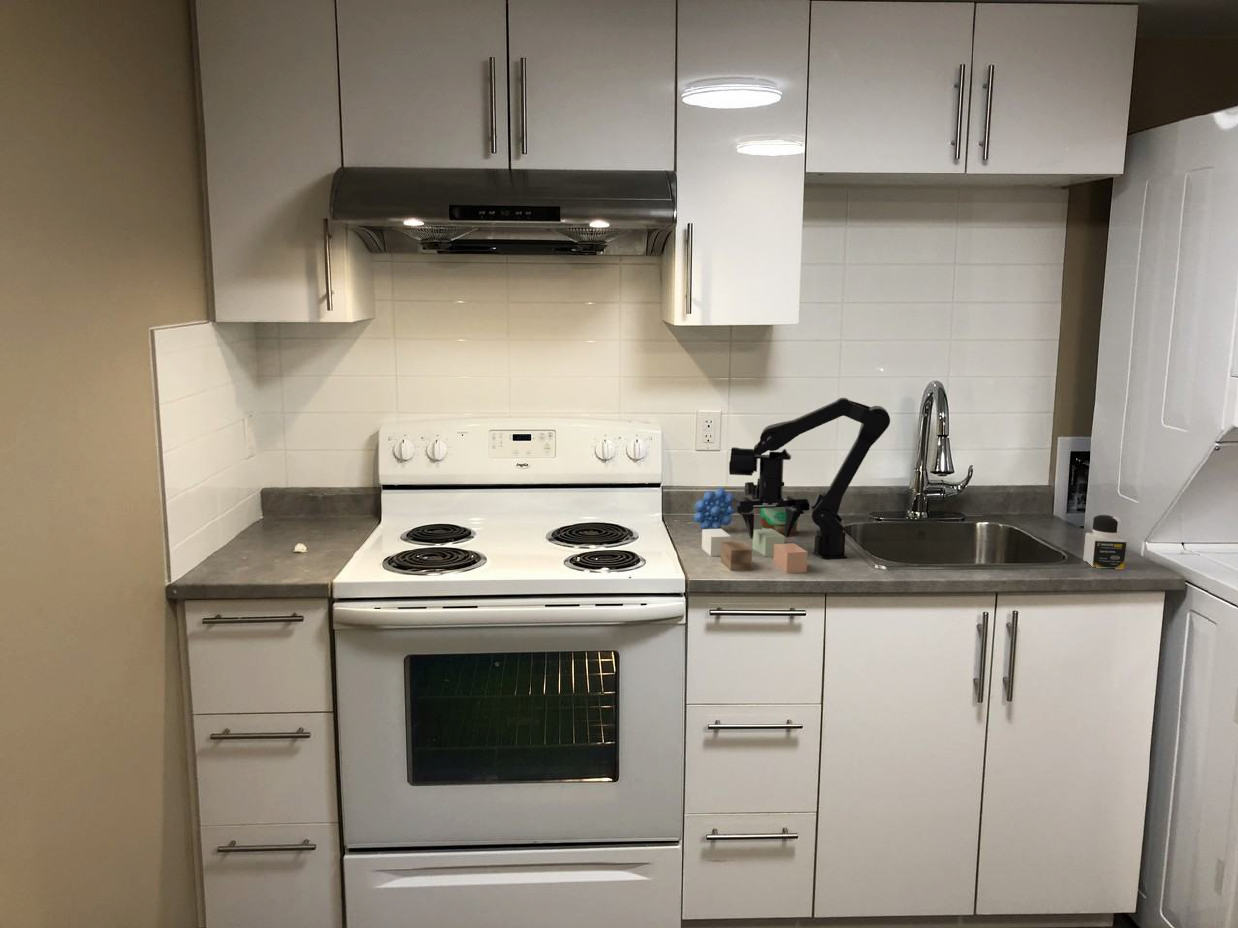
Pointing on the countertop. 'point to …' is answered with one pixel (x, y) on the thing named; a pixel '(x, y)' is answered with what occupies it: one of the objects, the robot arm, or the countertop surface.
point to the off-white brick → (714, 540)
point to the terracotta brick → (790, 558)
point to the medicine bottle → (1105, 543)
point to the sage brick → (766, 541)
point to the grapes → (714, 509)
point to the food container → (776, 519)
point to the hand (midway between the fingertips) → (768, 537)
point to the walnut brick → (736, 555)
